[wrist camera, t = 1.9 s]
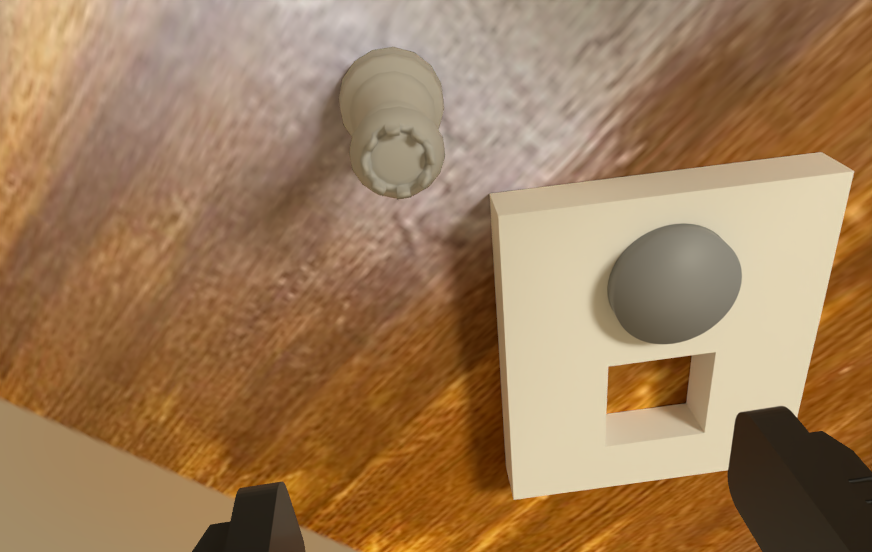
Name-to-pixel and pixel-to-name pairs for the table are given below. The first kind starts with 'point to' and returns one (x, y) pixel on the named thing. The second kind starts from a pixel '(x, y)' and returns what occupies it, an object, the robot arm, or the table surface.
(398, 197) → the rook chess piece
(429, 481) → the table surface
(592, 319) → the carrier plate
